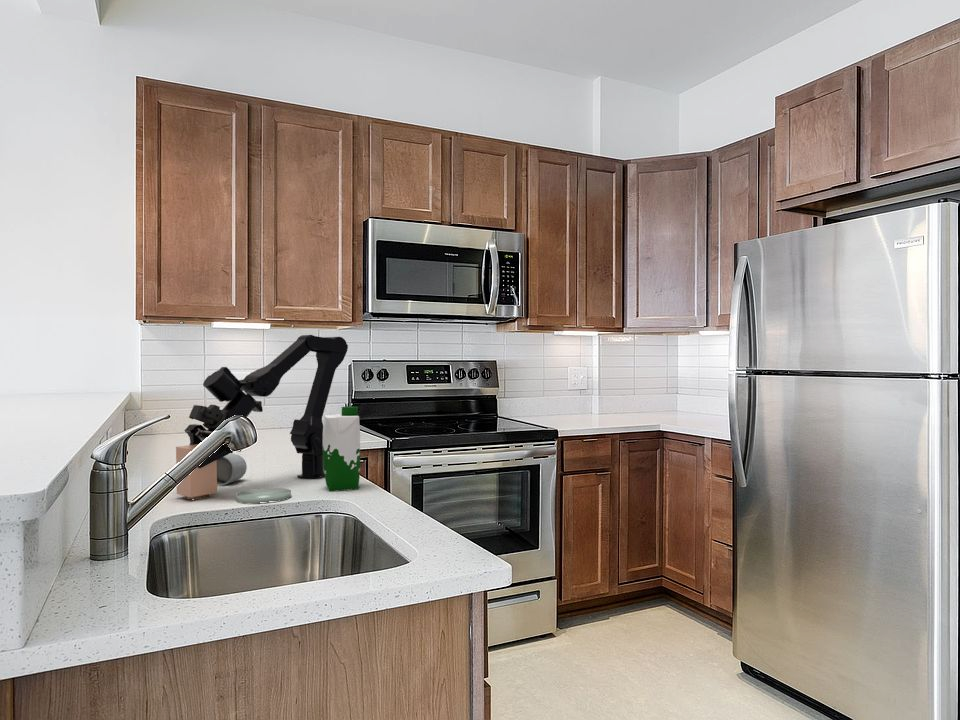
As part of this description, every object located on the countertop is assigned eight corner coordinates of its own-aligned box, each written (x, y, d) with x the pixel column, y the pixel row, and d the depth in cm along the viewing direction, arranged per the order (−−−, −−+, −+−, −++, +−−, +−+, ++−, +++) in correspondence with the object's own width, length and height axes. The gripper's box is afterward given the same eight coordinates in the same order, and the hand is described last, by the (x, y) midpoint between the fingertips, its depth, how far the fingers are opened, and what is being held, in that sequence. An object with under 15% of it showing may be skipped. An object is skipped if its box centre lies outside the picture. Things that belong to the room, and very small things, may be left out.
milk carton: (362, 489, 157) (361, 407, 157) (324, 492, 154) (323, 409, 154) (358, 483, 165) (357, 405, 165) (321, 485, 163) (321, 406, 163)
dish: (257, 491, 156) (257, 486, 156) (301, 493, 153) (301, 488, 153) (225, 502, 145) (224, 497, 145) (271, 505, 141) (271, 499, 141)
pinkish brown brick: (203, 489, 155) (202, 443, 155) (217, 492, 151) (216, 445, 151) (176, 493, 150) (175, 446, 150) (190, 497, 146) (189, 449, 146)
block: (200, 495, 153) (200, 478, 153) (209, 497, 151) (209, 480, 151) (184, 498, 150) (184, 481, 150) (192, 500, 147) (192, 483, 147)
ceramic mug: (249, 479, 172) (248, 451, 172) (233, 485, 164) (232, 455, 164) (211, 480, 173) (211, 451, 173) (194, 486, 165) (193, 456, 165)
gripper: (191, 391, 159) (146, 441, 150) (232, 393, 147) (185, 447, 139) (222, 420, 165) (180, 469, 157) (263, 424, 153) (220, 478, 145)
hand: (190, 465), depth 149 cm, fingers closed on pinkish brown brick, 6 cm apart
